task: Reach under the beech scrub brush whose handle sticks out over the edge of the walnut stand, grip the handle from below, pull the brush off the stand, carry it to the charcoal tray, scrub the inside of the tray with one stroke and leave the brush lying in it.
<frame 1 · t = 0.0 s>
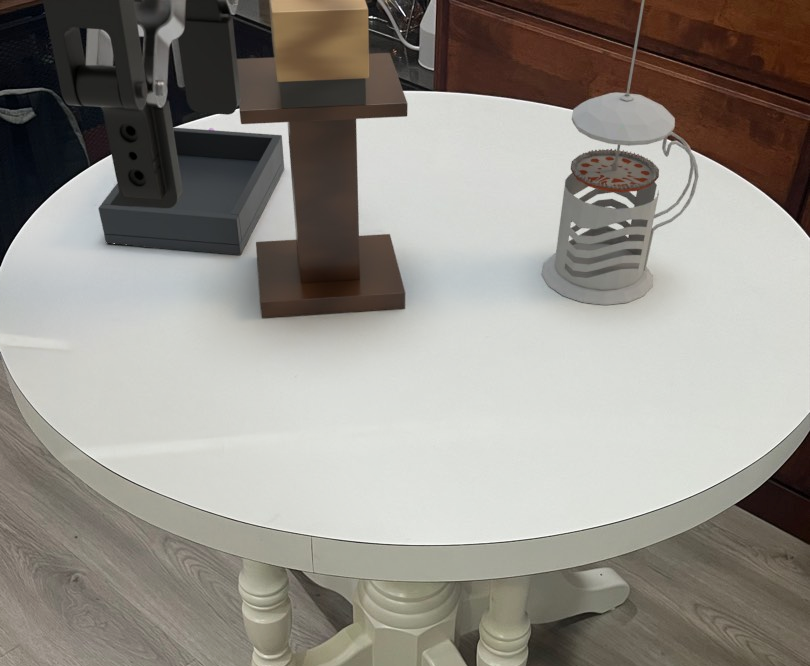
hand: (186, 153, 40), 28 cm above the table, tool pointing down, fingers open, 8 cm apart
tray: (200, 204, 96), on the table
stand: (328, 281, 86), on the table
brush: (320, 90, 73), point 17 cm above the table, touching stand
french press: (606, 276, 88), on the table
earpods: (208, 147, 105), on the table
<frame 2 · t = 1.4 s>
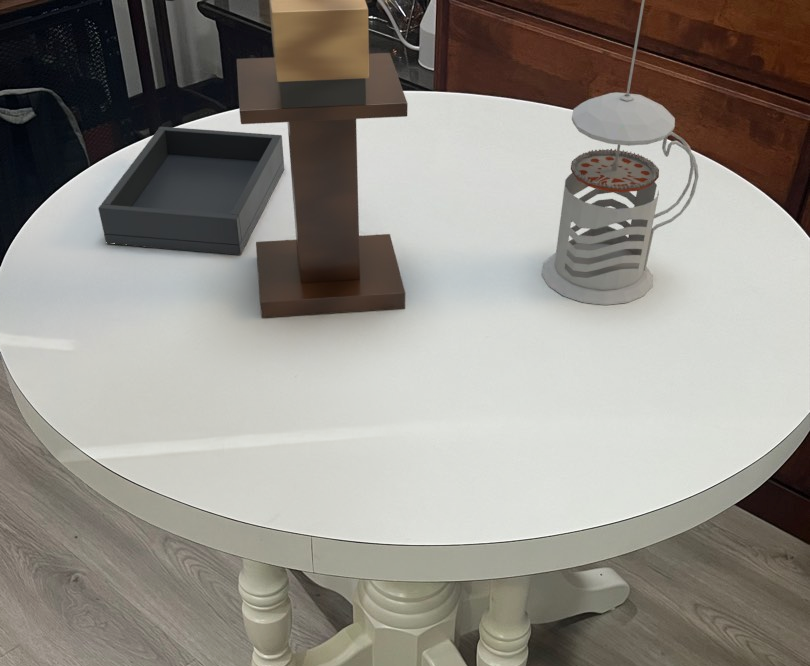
nothing on the table moved.
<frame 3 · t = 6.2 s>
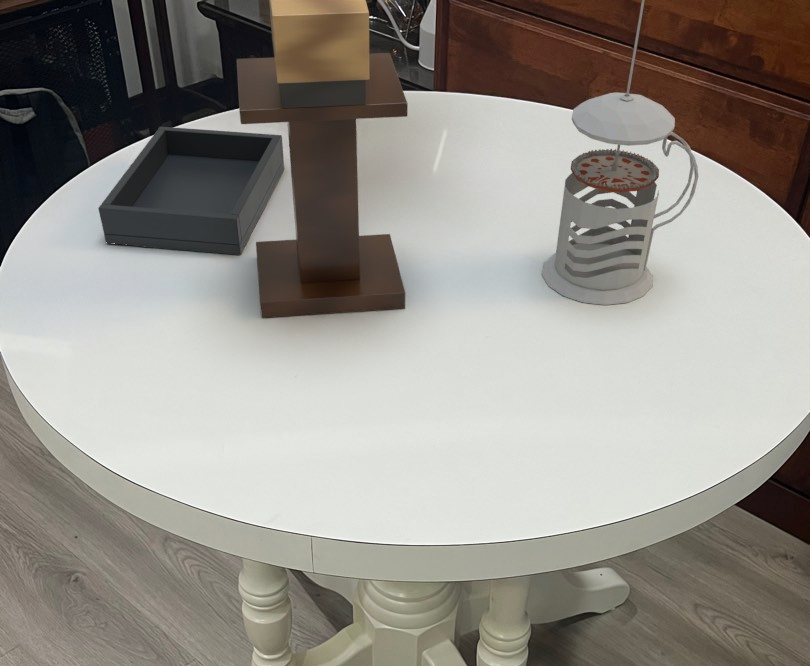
brush: (320, 87, 73), point 17 cm above the table, touching gripper, stand
everything else where it was.
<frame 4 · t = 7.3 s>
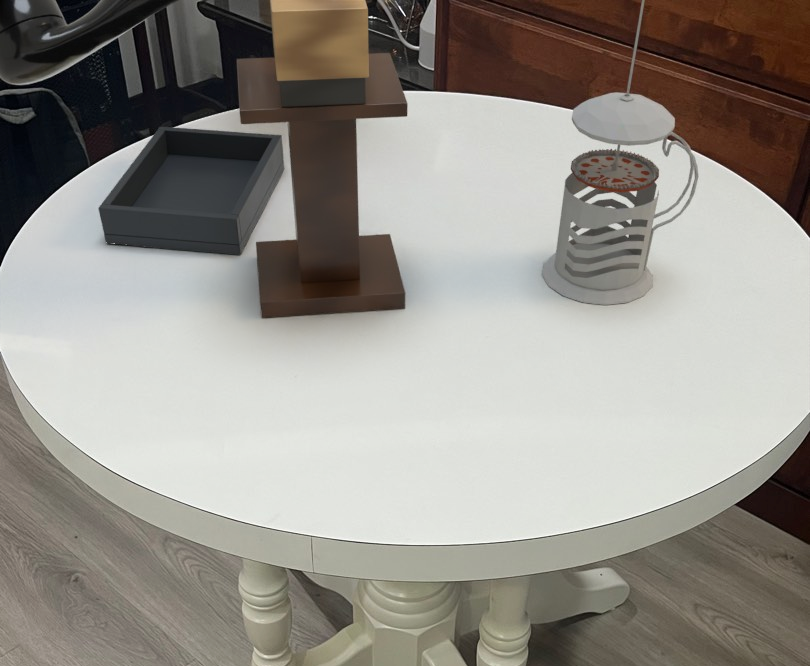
brush: (321, 89, 73), point 17 cm above the table, touching stand
everything else where it was.
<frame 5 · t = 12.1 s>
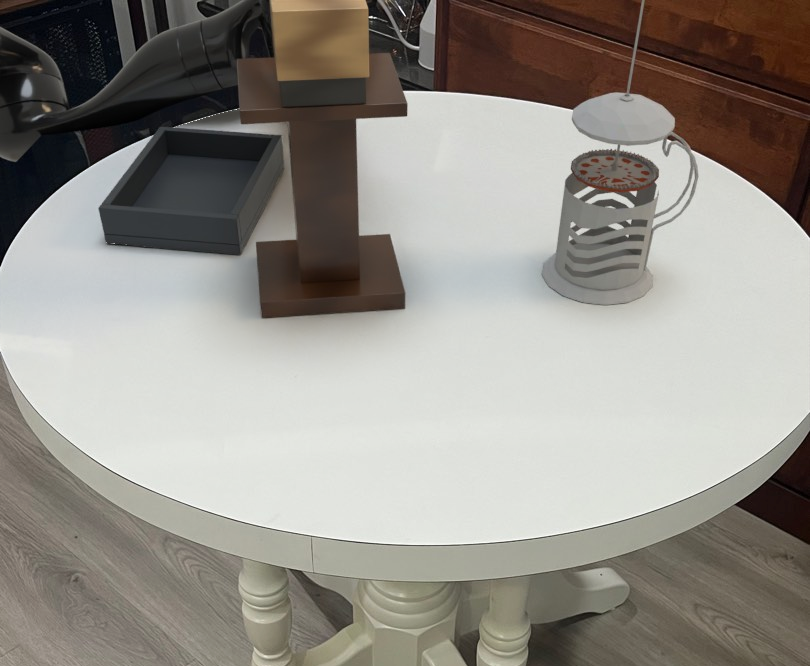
brush: (321, 89, 73), point 17 cm above the table, touching gripper, stand
everything else where it was.
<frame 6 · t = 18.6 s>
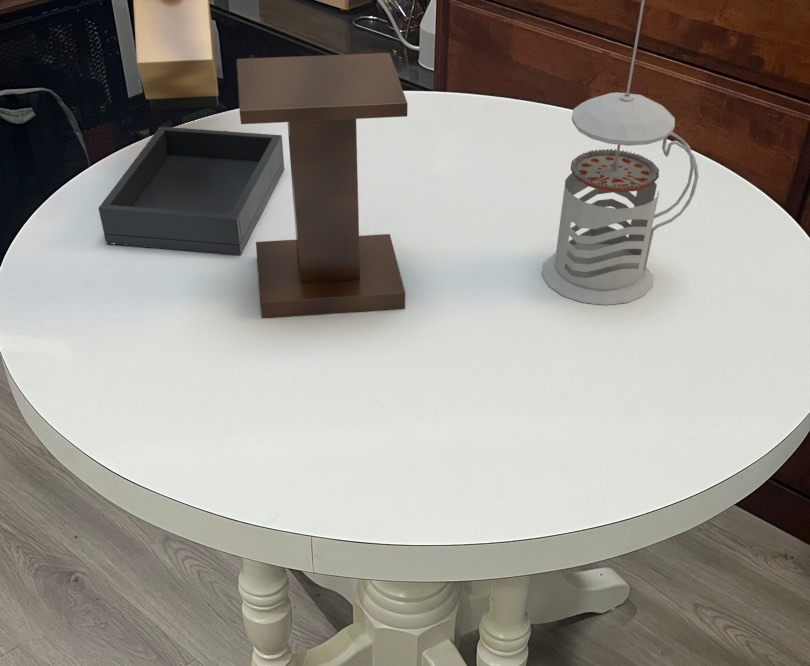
brush: (183, 80, 92), point 10 cm above the table, tilted 30°, touching gripper
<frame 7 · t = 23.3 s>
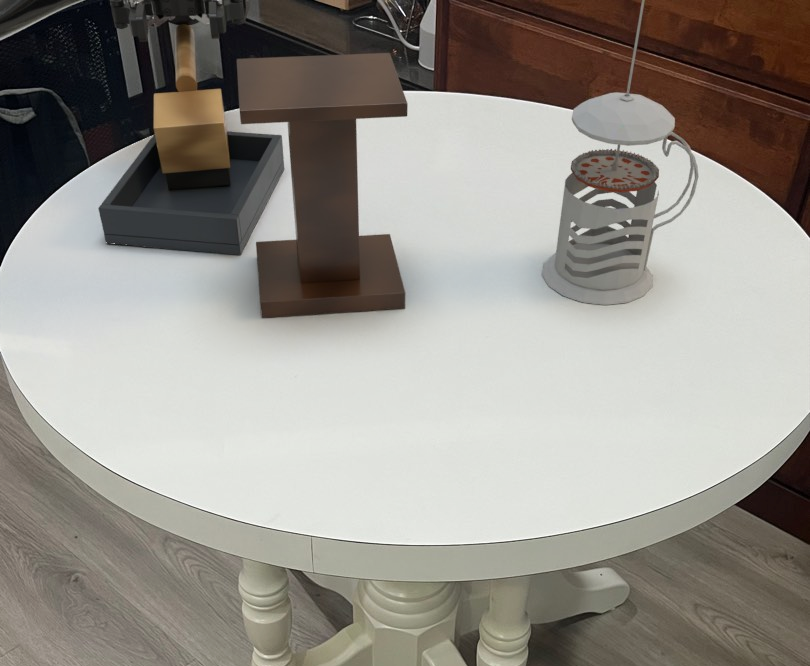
hand: (177, 28, 91), 14 cm above the table, tool horizontal, fingers open, 6 cm apart
brush: (199, 172, 98), point 1 cm above the table, touching tray
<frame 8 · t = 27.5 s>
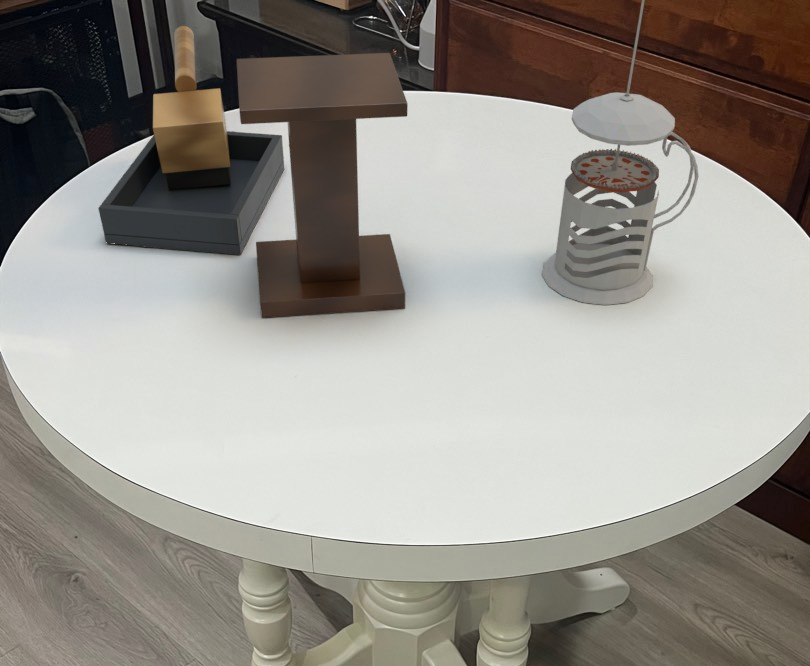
at the end: brush inside the target area on the tray (4.2 cm from its centre), point 1.3 cm above the tray's base; the gripper is holding nothing; brush moved 29.1 cm from its start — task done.
